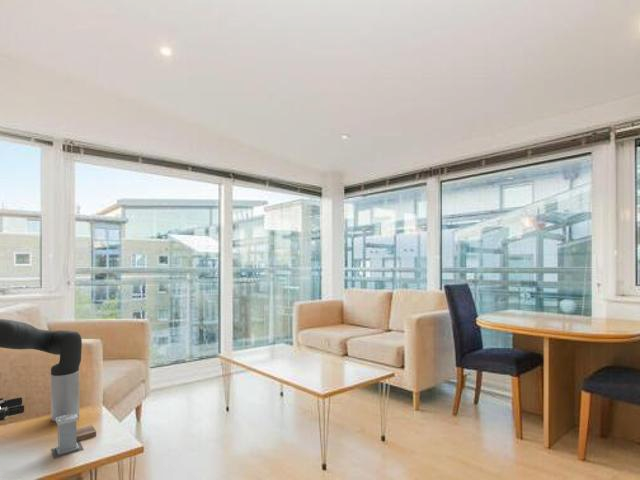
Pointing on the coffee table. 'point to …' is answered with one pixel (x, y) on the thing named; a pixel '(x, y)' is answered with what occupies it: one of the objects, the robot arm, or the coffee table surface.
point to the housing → (66, 433)
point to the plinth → (85, 433)
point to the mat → (66, 453)
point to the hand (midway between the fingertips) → (23, 404)
